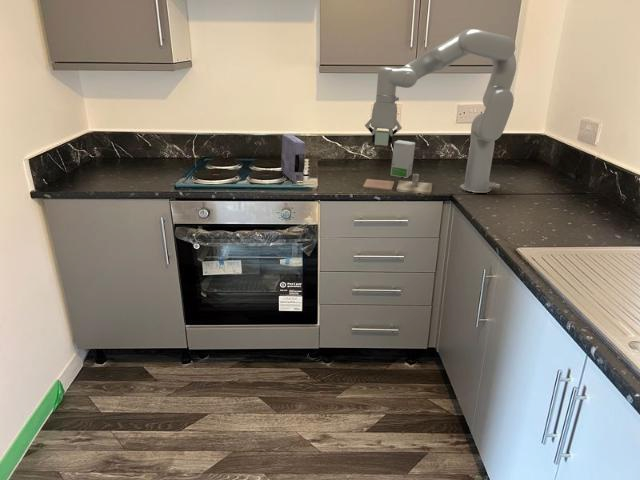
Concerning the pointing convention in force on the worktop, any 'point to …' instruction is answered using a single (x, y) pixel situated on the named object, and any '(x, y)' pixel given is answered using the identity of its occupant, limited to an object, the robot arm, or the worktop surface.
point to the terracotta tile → (378, 184)
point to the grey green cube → (381, 137)
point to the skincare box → (402, 158)
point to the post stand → (414, 186)
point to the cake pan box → (293, 157)
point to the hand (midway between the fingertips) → (381, 144)
